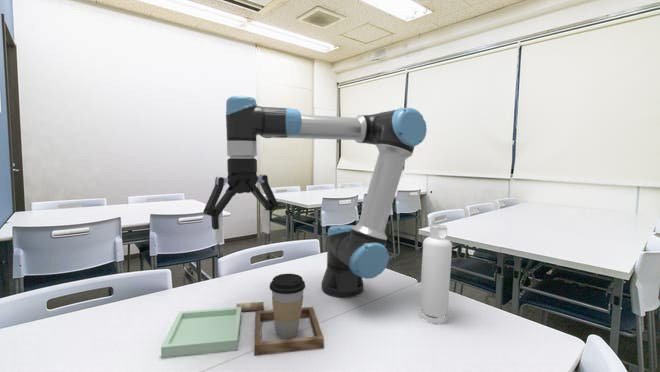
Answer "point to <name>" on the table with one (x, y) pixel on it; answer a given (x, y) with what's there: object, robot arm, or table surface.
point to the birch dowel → (251, 306)
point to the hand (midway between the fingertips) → (243, 236)
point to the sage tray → (203, 332)
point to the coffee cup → (287, 304)
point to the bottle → (435, 275)
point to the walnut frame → (287, 344)
